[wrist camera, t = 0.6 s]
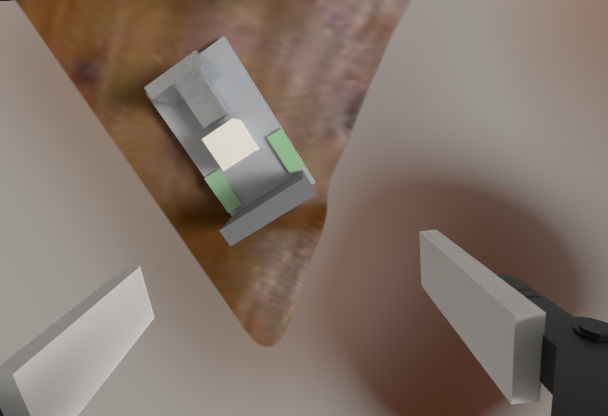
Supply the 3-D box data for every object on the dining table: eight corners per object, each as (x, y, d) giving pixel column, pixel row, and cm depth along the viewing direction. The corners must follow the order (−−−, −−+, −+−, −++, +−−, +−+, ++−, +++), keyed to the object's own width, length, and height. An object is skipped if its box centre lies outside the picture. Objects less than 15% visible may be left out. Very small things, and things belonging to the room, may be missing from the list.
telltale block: (212, 138, 36) (201, 139, 32) (240, 119, 36) (232, 118, 32) (232, 167, 37) (223, 171, 33) (259, 149, 37) (254, 151, 33)
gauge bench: (150, 94, 36) (106, 82, 28) (226, 39, 35) (203, 11, 27) (242, 226, 40) (226, 248, 32) (315, 181, 39) (317, 193, 31)
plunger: (171, 95, 35) (143, 87, 29) (214, 64, 34) (195, 50, 28) (198, 135, 36) (177, 136, 30) (241, 106, 35) (228, 101, 29)
